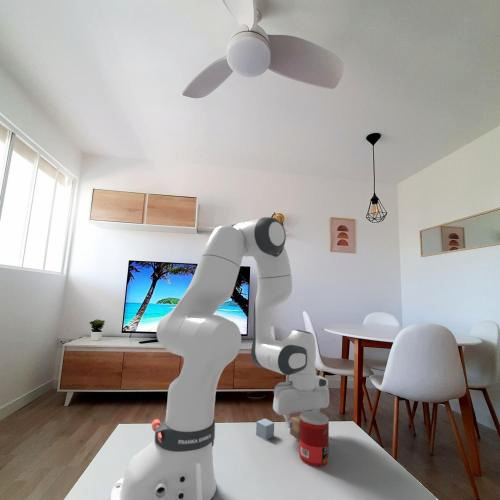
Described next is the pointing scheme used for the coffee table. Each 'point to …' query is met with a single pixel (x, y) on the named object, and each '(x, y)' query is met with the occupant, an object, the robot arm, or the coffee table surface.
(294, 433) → the tan cube
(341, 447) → the coffee table surface
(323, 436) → the canned food
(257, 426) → the slate block
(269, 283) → the robot arm
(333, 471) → the coffee table surface
